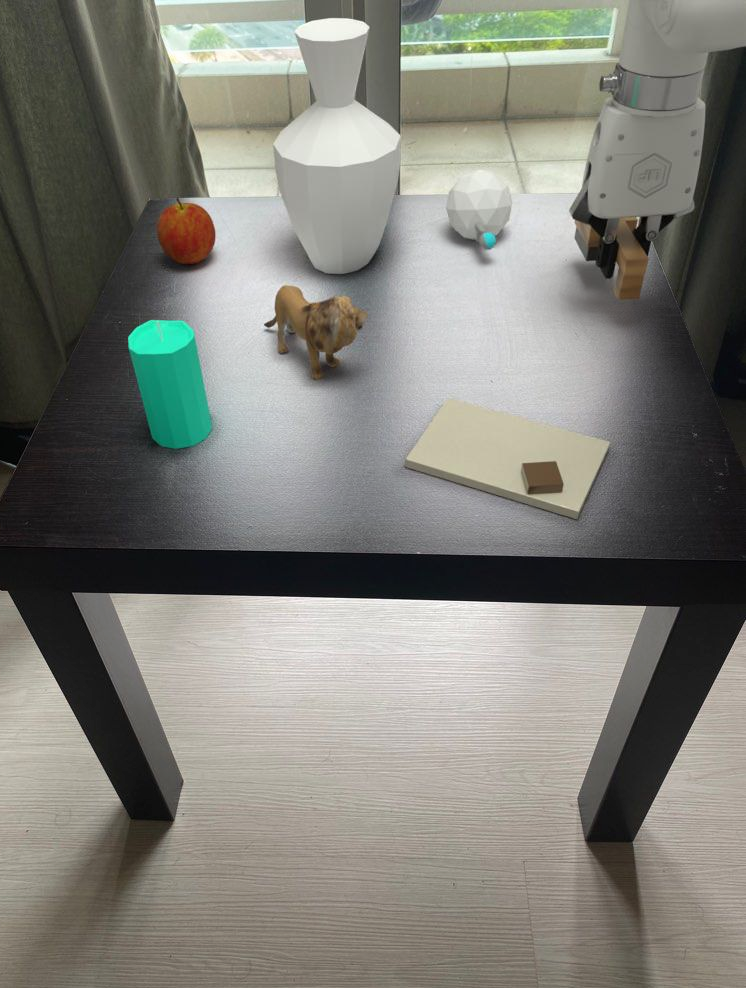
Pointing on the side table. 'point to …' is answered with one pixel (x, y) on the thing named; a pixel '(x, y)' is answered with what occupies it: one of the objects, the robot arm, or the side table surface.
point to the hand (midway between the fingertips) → (618, 270)
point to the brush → (618, 256)
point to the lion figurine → (316, 324)
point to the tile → (507, 455)
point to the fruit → (186, 232)
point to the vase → (337, 154)
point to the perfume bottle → (479, 206)
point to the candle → (170, 382)
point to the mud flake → (542, 477)
